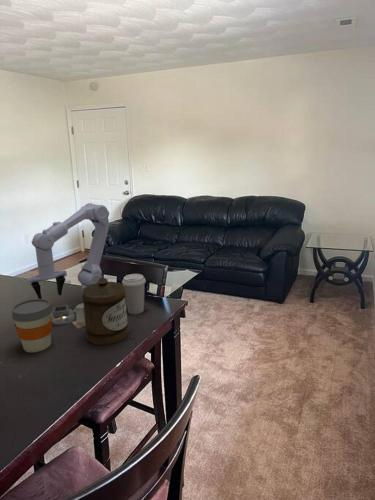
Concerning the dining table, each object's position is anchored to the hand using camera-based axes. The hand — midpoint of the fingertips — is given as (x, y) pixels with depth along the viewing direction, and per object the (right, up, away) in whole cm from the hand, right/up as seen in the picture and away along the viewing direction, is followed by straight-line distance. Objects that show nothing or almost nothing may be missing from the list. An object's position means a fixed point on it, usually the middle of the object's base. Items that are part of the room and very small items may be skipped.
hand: (50, 297), depth 144 cm
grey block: (+13, -10, -1) cm, 16 cm away
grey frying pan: (+1, -10, +1) cm, 10 cm away
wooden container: (+25, -13, -10) cm, 29 cm away
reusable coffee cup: (+1, -15, -16) cm, 22 cm away
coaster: (+13, -10, -1) cm, 17 cm away
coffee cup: (+32, -7, +9) cm, 35 cm away
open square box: (+4, -7, +1) cm, 8 cm away
